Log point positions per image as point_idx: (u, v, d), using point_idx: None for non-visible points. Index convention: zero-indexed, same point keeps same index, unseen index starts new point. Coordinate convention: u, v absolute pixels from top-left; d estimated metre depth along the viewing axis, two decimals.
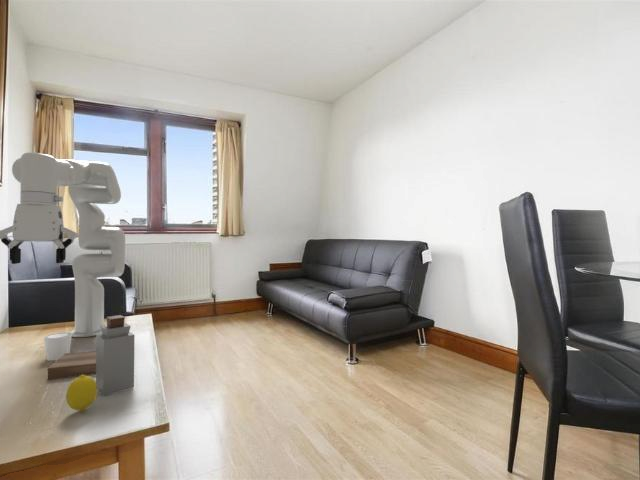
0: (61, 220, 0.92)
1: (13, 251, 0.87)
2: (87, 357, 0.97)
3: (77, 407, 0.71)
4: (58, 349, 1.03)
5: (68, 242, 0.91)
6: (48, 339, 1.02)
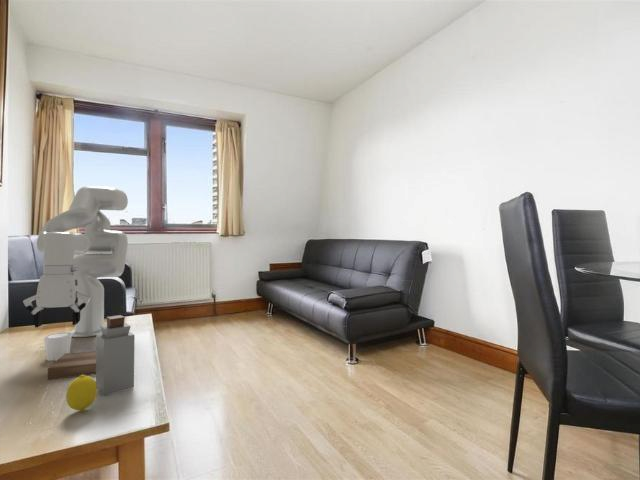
0: (77, 287, 1.07)
1: (36, 316, 1.02)
2: (87, 357, 0.97)
3: (77, 407, 0.71)
4: (58, 349, 1.03)
5: (83, 306, 1.06)
6: (48, 339, 1.02)
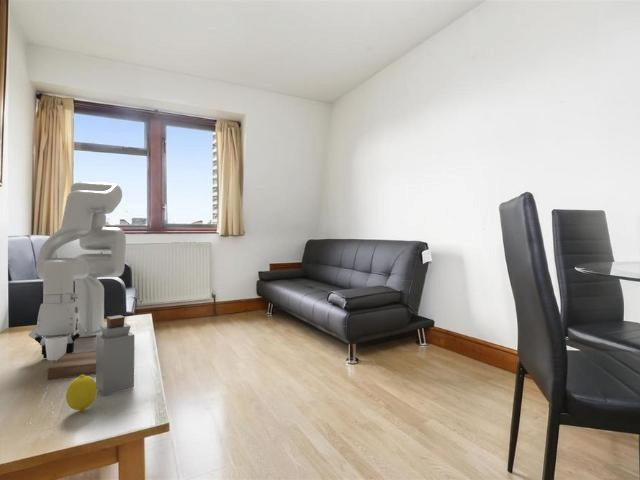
0: (77, 314, 1.07)
1: (45, 348, 1.03)
2: (87, 357, 0.97)
3: (77, 407, 0.71)
4: (58, 349, 1.03)
5: (76, 337, 1.06)
6: (48, 339, 1.02)
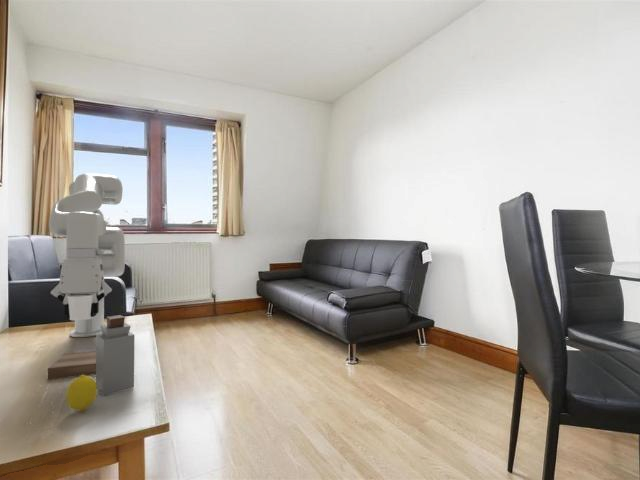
0: (102, 272, 0.99)
1: (68, 307, 0.94)
2: (87, 357, 0.97)
3: (77, 407, 0.71)
4: (82, 308, 0.94)
5: (101, 296, 0.97)
6: (72, 297, 0.93)
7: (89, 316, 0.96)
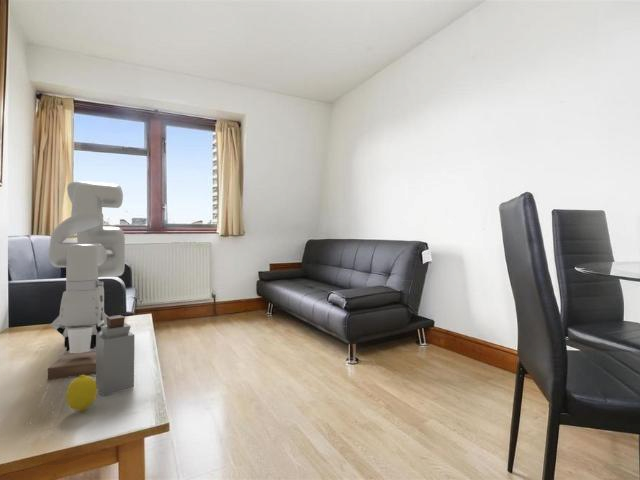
0: (102, 303, 0.99)
1: (68, 339, 0.94)
2: (87, 357, 0.97)
3: (77, 407, 0.71)
4: (82, 341, 0.94)
5: None
6: (71, 330, 0.93)
7: (89, 348, 0.96)
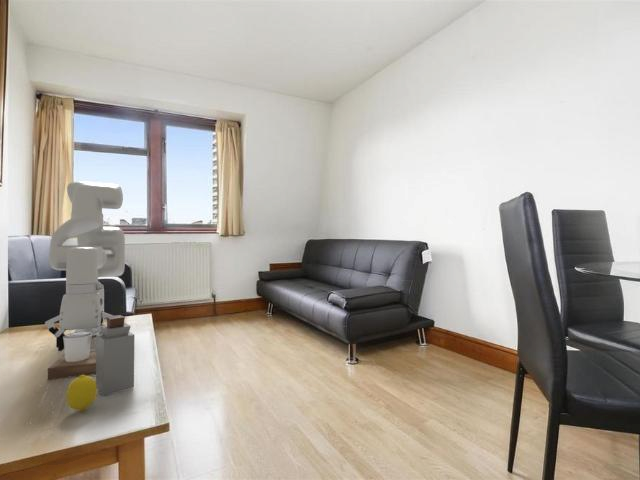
0: (102, 306, 0.99)
1: (60, 339, 0.93)
2: None
3: (77, 407, 0.71)
4: (78, 349, 0.94)
5: None
6: (67, 338, 0.93)
7: (85, 356, 0.96)
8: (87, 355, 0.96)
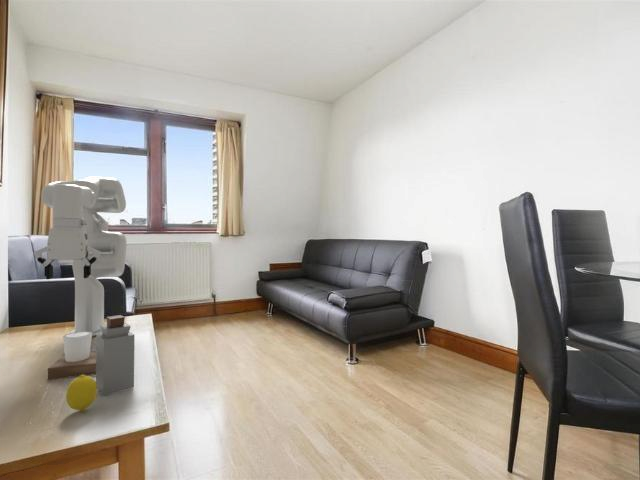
0: (87, 241, 1.07)
1: (47, 268, 1.02)
2: None
3: (77, 407, 0.71)
4: (78, 349, 0.94)
5: (93, 260, 1.07)
6: (67, 338, 0.93)
7: (85, 356, 0.96)
8: (87, 355, 0.96)
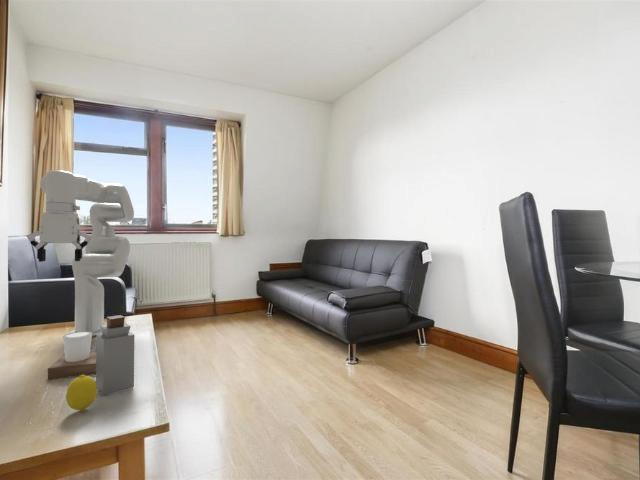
0: (78, 225, 1.11)
1: (40, 251, 1.06)
2: None
3: (77, 407, 0.71)
4: (78, 349, 0.94)
5: (84, 244, 1.10)
6: (67, 338, 0.93)
7: (85, 356, 0.96)
8: (87, 355, 0.96)
